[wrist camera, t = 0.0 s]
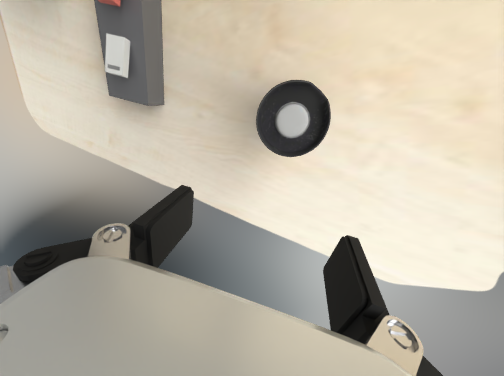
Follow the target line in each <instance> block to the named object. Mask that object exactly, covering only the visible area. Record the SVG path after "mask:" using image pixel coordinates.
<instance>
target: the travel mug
mask: <svg viewBox="0 0 504 376" xmlns="http://www.w3.org/2000/svg"><path fill="white" fill-rule="evenodd" d="M330 119H331V112H330V105H329V101H328V99H327V98H326V97H325V95H324V94H323V93H322V92H321V91H320V90H319V89H318V88H317V87H316V86H315V85H314V84H313V83H311V82H308V81H304V80H290V81H286V82H283V83H280V84H278V85H277V86H275V87H274V88H272V89H271V90H270V91H269V92H268V93H267V94H266V95H265V97H264V98H263V100H262V101H261V103H260V105H259V108H258V112H257V118H256V125H257V131H258V134H259V136H260V139H261V140H262V142H263V143H264V145H265V146H266V147H267V148H268V149H270V150H271V151H272V152H274V153H276V154H278V155H281V156H286V157H296V156H301V155H304V154H306V153H308V152H310V151H312V150H313V149H314V148H316V147H317V146H318V145H319V144H320V143H321V141H322V140H323V139H324V137H325V135H326V133H327V131H328V128H329V125H330Z"/></svg>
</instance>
